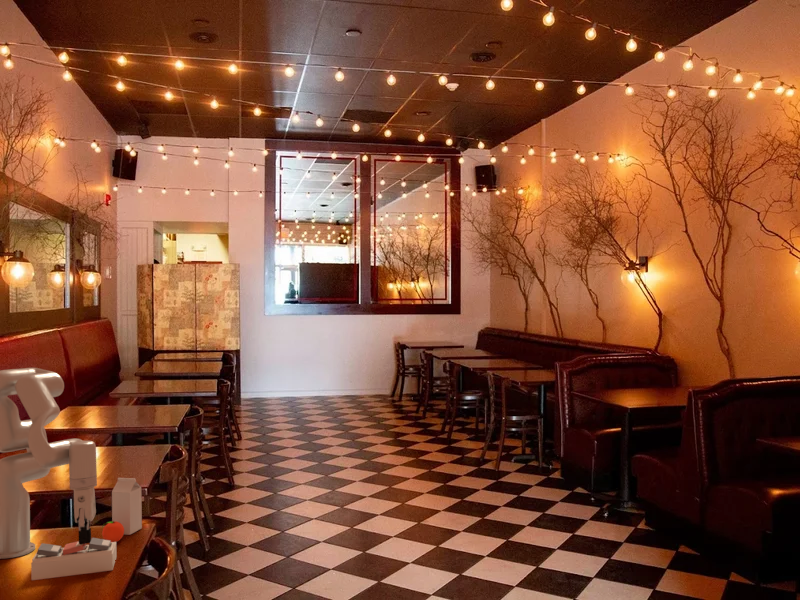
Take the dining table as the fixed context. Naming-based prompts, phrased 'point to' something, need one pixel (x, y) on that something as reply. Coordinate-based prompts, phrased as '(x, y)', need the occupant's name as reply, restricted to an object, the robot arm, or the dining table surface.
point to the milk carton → (127, 504)
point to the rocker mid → (73, 547)
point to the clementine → (113, 531)
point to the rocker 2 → (99, 544)
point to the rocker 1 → (49, 550)
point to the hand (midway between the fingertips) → (85, 542)
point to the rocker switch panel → (73, 563)
